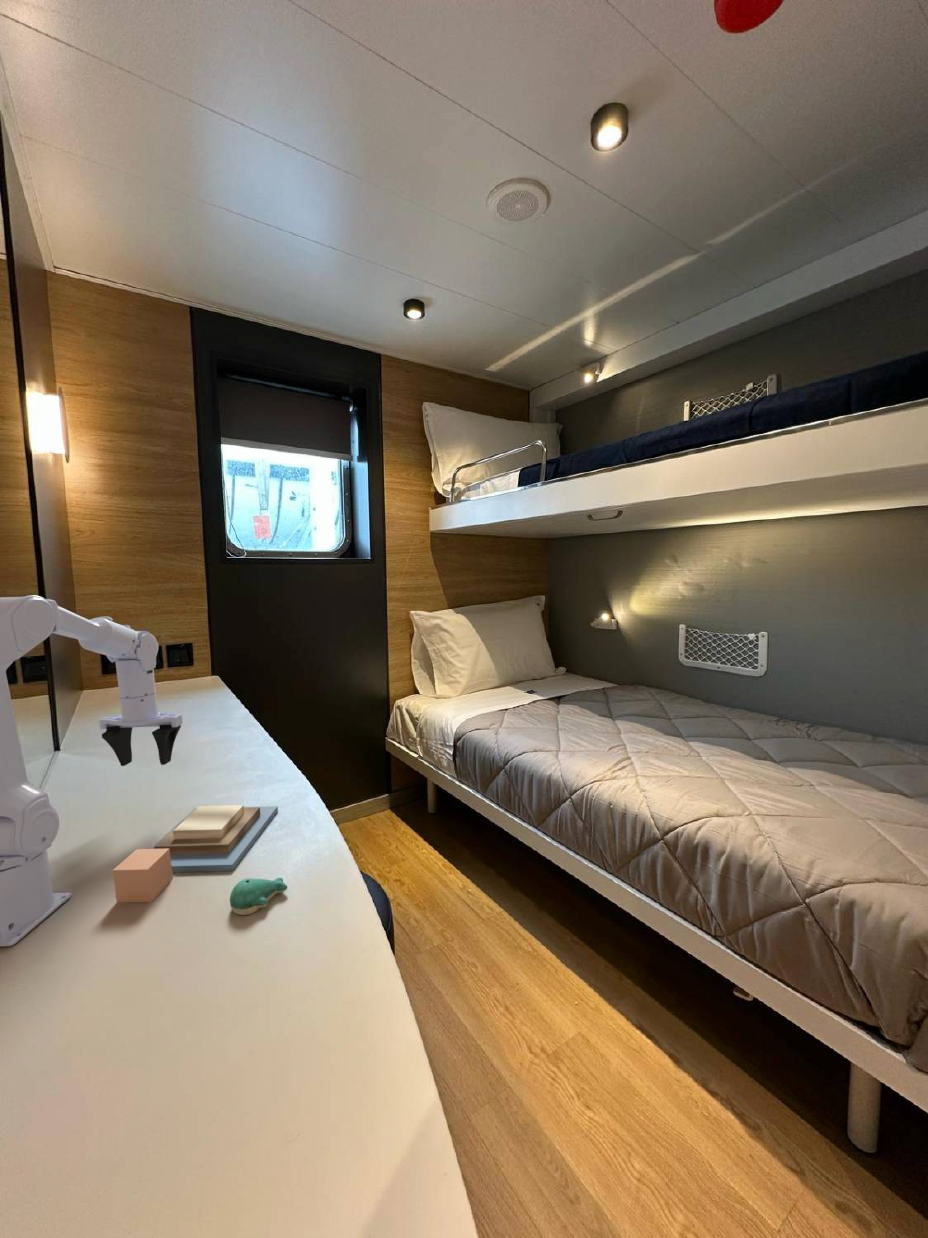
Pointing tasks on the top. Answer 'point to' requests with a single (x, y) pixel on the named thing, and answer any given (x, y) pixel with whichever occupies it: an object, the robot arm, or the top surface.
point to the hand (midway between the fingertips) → (146, 763)
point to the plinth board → (223, 858)
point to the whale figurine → (254, 894)
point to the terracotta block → (142, 875)
